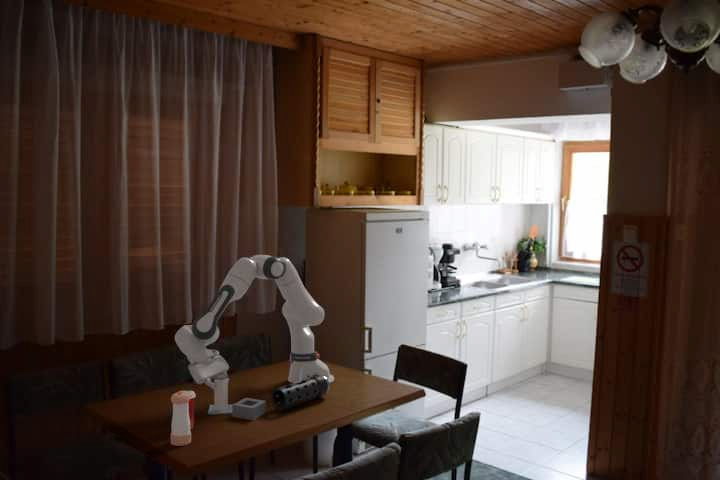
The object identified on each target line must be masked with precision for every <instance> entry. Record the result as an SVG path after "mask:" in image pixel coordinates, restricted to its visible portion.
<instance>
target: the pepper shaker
mask: <svg viewBox="0 0 720 480" xmlns="http://www.w3.org/2000/svg"><path fill="white" fill-rule="evenodd" d="M183 391H184V390H179V391H178V392H175V393H173V394H172V395H171V397H170V401H171V403H172V419H171V424H170V425H171V432H170V444H171V445H172V446H176V447H177V446H179V447H181V446H186V445H189V444H190V443H191V442H192V432H191V430H190V419H189V411H188V402H189V401H190V399H191V397H190V395H189V394H188V393H185V392H183Z"/></svg>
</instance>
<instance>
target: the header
mask: <svg viewBox="0 0 720 480" xmlns="http://www.w3.org/2000/svg"><path fill="white" fill-rule="evenodd" d="M266 413H267V400H261V399H256V398H249V397H244V398H243V399H240V400H239V401H237V402H235V403H233V405H232V414H231V415H232V418H238V419H243V420H249V421H255V420H256V419H258V418H260V417H262V416H263V415H265V414H266Z"/></svg>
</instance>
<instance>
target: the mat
mask: <svg viewBox="0 0 720 480" xmlns="http://www.w3.org/2000/svg"><path fill="white" fill-rule="evenodd" d="M233 404H234V403H233ZM233 404H232V403H231V404H229V403H228V408H227V409H225V410H223V411H221V410H215V409H214V404H210V405H209V408H208V411H207V415H226V414H227V415H228V414H229V415H230V414H231V415H232V405H233Z"/></svg>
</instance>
